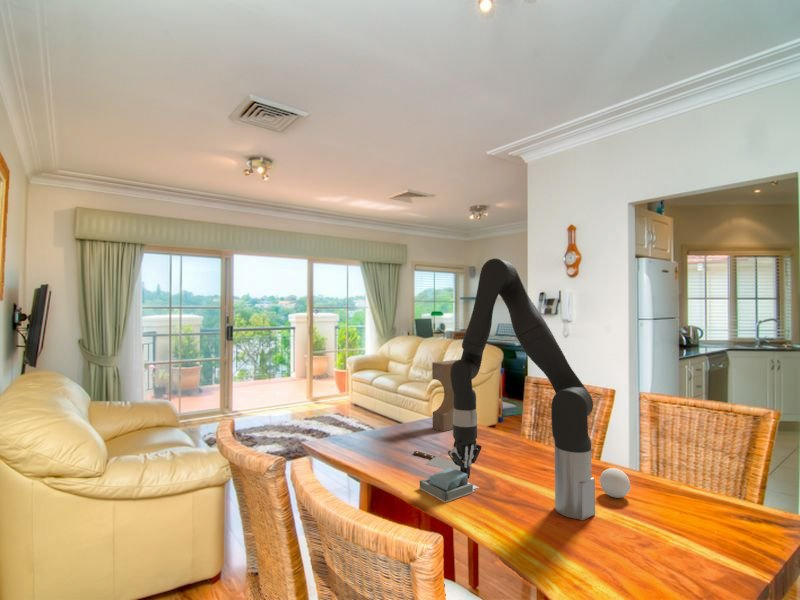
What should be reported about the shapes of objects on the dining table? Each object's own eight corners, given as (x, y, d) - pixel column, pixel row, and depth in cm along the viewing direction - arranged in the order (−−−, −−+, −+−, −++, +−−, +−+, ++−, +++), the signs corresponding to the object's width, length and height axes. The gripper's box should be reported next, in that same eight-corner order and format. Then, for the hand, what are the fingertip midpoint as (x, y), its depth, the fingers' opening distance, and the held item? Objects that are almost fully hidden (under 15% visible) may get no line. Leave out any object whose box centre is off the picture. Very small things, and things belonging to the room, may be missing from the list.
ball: (594, 491, 128) (594, 464, 128) (619, 490, 129) (619, 463, 129) (609, 503, 120) (609, 474, 120) (636, 502, 121) (636, 473, 121)
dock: (482, 489, 130) (482, 481, 130) (445, 503, 121) (445, 494, 121) (456, 477, 139) (456, 469, 139) (419, 489, 130) (419, 480, 130)
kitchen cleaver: (402, 457, 157) (419, 448, 164) (402, 460, 157) (419, 451, 164) (458, 475, 140) (474, 465, 148) (458, 478, 140) (474, 467, 148)
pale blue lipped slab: (469, 488, 130) (468, 473, 130) (447, 498, 123) (447, 482, 123) (451, 481, 135) (451, 467, 135) (429, 490, 128) (429, 475, 128)
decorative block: (455, 422, 205) (454, 359, 205) (466, 426, 199) (466, 361, 199) (432, 428, 195) (431, 362, 196) (443, 432, 189) (443, 364, 190)
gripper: (457, 428, 127) (458, 487, 127) (488, 421, 135) (488, 477, 135) (441, 423, 133) (441, 479, 133) (471, 416, 141) (471, 469, 141)
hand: (465, 478), depth 134 cm, fingers closed
